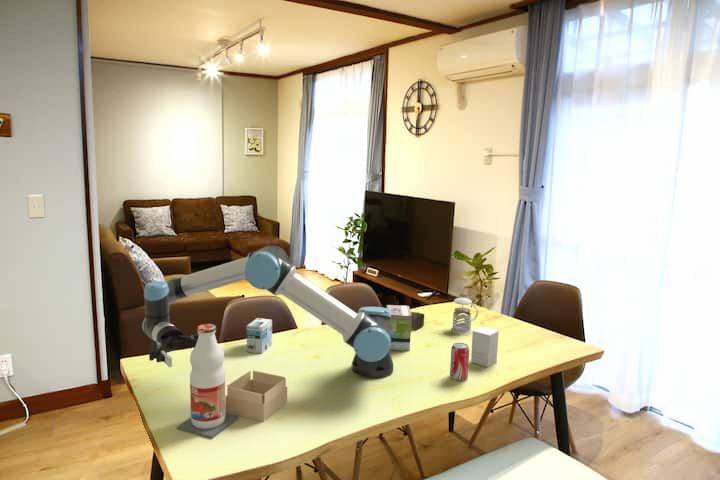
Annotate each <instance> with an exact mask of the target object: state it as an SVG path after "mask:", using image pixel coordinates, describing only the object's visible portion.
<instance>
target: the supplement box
mask: <svg viewBox="0 0 720 480" xmlns="http://www.w3.org/2000/svg"><path fill="white" fill-rule="evenodd" d="M471 339H472V340H471V352H470V353H471V357H470V362H471V363H473V364H476V365H480V366H483V367H487V368H489V367H491V366H492V365H494V364H496V363H497V361H498V359H497V358H498V346H499V330H496V329H493V328H490V327H489V328H488V327H485V326H480V327H478V328H476V329H474V330H472V337H471Z"/></svg>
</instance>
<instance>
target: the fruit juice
mask: <svg viewBox="0 0 720 480" xmlns="http://www.w3.org/2000/svg"><path fill="white" fill-rule="evenodd" d="M196 331H197V333H196V334H197V335H199V336H198V340H197V343H196V346H195V347H193V349H192V351H191V352H190V356H189V362H190V365H191V370H190V373H189V374H190V375H189V387H190V388H189V393H190V394H189V395H190V399H189V400H190V418H191V422H192V425H193V426H194V427H196V428H200V429H210V428H214V427H217V426H219V425H221V424H222V423H223V422H224V421H225V416H226V413H227V412H226V372H225V369H224V366H223V364H224V361H225V354H224V350H223V349H222V347H221V346H220V345H219V343H218V340H217V338H216V332H217V326H216V325H215V324H213V323H204V324H200V325H198V326H197V329H196Z"/></svg>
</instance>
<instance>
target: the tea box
mask: <svg viewBox="0 0 720 480" xmlns="http://www.w3.org/2000/svg"><path fill="white" fill-rule="evenodd" d="M385 308H387V309H389V310H390V313H391V318H390V338H391V345H390V348H389V351H410V349H411V336H412V334H411V333H412V329H411V321H412V315H411V312H412V311H411V309H410V308H411V307H410V306H409V305H398V304H395V305H394V304H386V307H385Z"/></svg>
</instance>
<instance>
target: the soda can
mask: <svg viewBox="0 0 720 480" xmlns="http://www.w3.org/2000/svg"><path fill="white" fill-rule="evenodd" d="M450 351H451V352H450V364H449V365H450V366H449V376H450V377H451V378H452V379H453V378H454V379H453V380H455V379H456V381H466V380H467V379H468V378H469V366H470V365H469V363H470V362H469V361H470V347H469V345H468V343H464V342H454V343H453V344H452V345H451V349H450Z"/></svg>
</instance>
